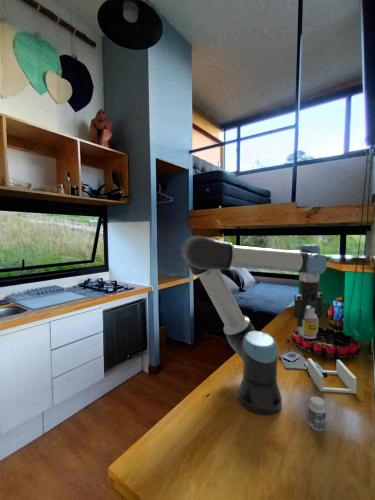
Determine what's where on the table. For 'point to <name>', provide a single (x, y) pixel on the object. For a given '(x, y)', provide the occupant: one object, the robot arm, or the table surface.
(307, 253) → the robot arm
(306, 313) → the supplement bottle
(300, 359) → the trivet
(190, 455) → the table surface
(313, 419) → the pill bottle
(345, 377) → the holder
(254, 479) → the table surface
